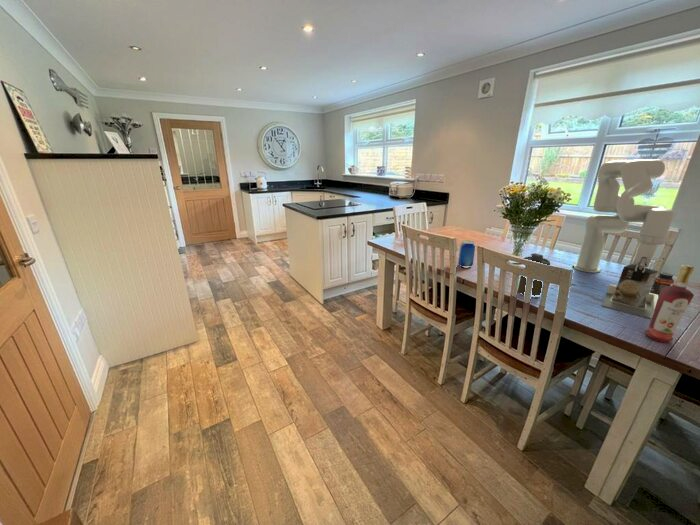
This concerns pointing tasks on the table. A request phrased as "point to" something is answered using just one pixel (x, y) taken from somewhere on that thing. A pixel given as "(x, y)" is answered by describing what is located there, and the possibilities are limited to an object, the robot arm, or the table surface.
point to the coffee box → (634, 286)
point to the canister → (536, 284)
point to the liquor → (670, 307)
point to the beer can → (466, 253)
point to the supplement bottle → (661, 282)
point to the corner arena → (641, 310)
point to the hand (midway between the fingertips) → (636, 276)
